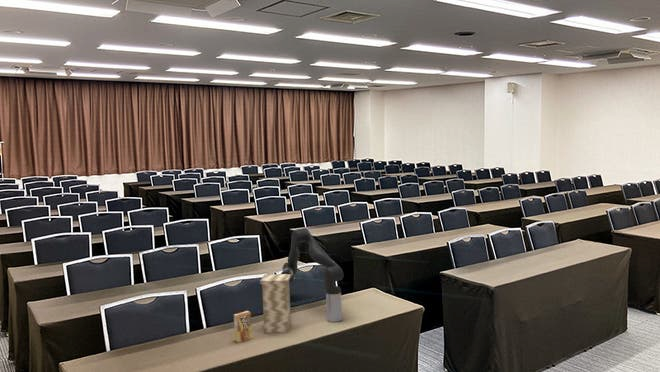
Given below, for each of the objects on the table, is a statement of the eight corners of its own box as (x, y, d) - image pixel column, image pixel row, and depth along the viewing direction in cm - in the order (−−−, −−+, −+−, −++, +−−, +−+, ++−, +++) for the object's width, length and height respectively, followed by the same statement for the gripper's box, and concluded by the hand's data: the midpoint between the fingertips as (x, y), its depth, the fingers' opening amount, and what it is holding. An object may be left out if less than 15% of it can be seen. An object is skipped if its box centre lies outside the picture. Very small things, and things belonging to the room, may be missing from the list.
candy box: (248, 336, 290) (247, 310, 288) (252, 338, 286) (251, 312, 285) (234, 340, 284) (233, 314, 283) (238, 342, 281) (237, 316, 280)
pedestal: (293, 324, 307) (290, 274, 304) (289, 332, 293) (287, 280, 291) (267, 324, 308) (264, 274, 306) (262, 333, 294) (259, 280, 292)
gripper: (275, 269, 340) (271, 276, 323) (296, 269, 339) (293, 276, 322) (276, 280, 341) (272, 288, 324) (297, 280, 340) (293, 287, 323)
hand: (282, 282), depth 323 cm, fingers closed on toggle bar, 3 cm apart
